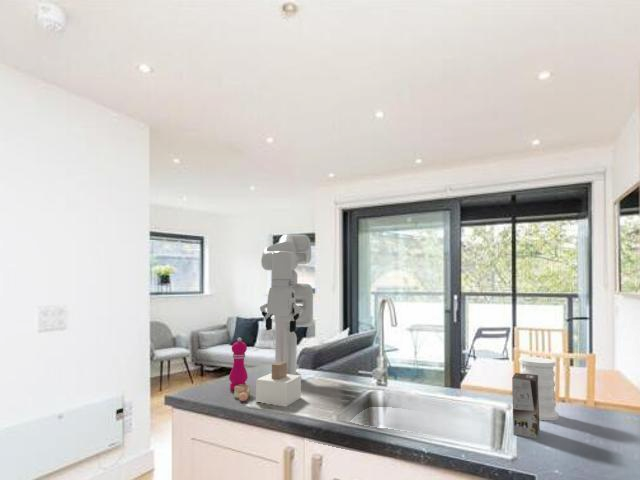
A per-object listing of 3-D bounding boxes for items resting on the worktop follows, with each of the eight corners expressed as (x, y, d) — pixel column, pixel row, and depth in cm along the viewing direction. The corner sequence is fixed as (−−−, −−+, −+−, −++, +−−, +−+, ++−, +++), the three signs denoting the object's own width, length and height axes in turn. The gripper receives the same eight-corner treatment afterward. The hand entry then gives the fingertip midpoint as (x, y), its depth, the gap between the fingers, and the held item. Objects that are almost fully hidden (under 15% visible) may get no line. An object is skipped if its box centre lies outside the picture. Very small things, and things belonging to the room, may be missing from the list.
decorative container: (512, 409, 143) (511, 356, 145) (544, 409, 144) (542, 356, 146) (532, 421, 132) (530, 363, 133) (567, 420, 133) (564, 363, 134)
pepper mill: (245, 391, 162) (246, 339, 164) (226, 390, 162) (228, 338, 164) (248, 386, 169) (250, 336, 171) (231, 386, 169) (232, 336, 171)
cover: (272, 393, 159) (273, 359, 160) (300, 397, 154) (301, 361, 155) (255, 402, 148) (256, 364, 149) (286, 406, 143) (286, 368, 144)
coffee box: (537, 439, 117) (535, 380, 118) (512, 434, 120) (511, 377, 122) (540, 429, 124) (538, 374, 126) (516, 425, 128) (515, 371, 129)
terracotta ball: (241, 399, 151) (242, 391, 151) (249, 400, 150) (249, 391, 150) (237, 401, 148) (237, 393, 148) (244, 402, 147) (244, 394, 147)
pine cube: (240, 395, 157) (240, 384, 157) (249, 396, 156) (249, 385, 156) (234, 397, 153) (234, 386, 154) (243, 399, 152) (243, 387, 152)
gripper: (306, 284, 155) (306, 331, 154) (266, 283, 161) (265, 328, 160) (298, 285, 148) (297, 333, 147) (256, 283, 155) (254, 330, 153)
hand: (280, 330), depth 154 cm, fingers open, 9 cm apart
